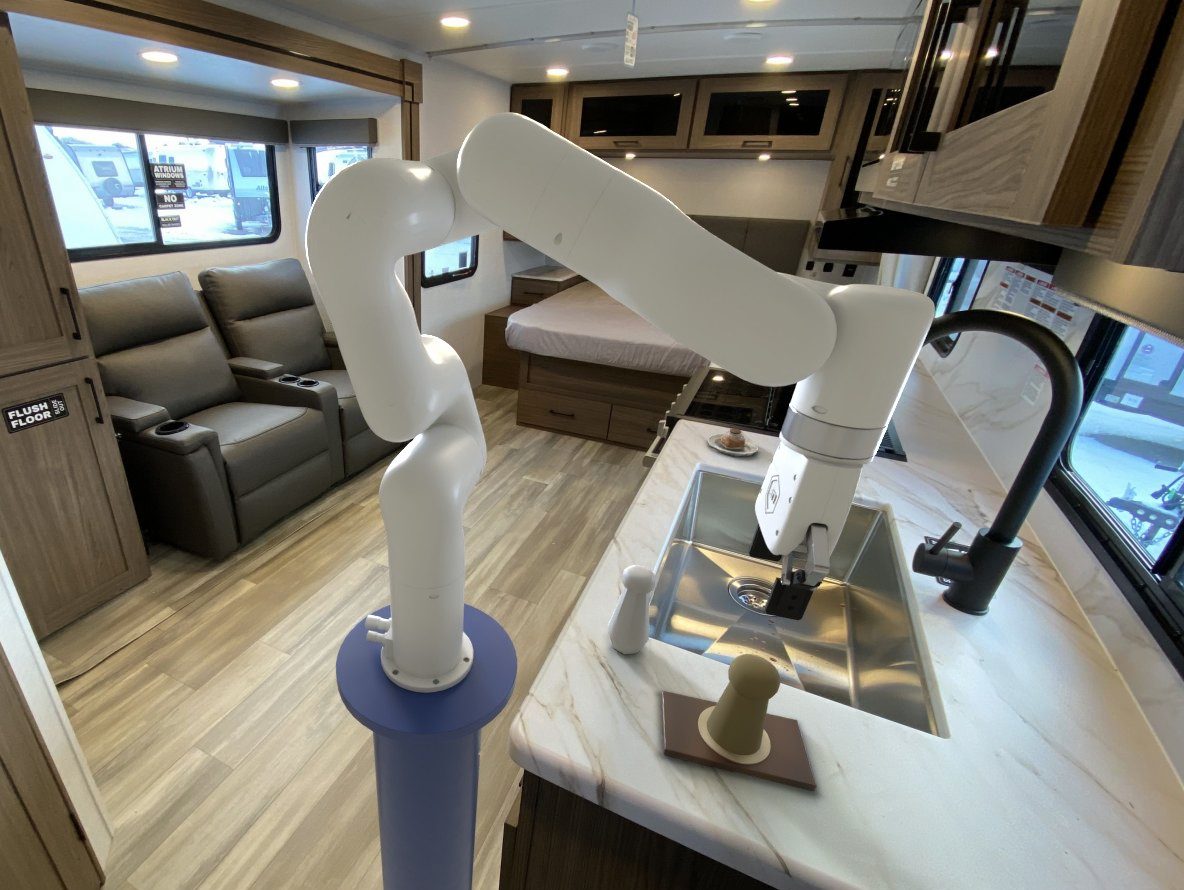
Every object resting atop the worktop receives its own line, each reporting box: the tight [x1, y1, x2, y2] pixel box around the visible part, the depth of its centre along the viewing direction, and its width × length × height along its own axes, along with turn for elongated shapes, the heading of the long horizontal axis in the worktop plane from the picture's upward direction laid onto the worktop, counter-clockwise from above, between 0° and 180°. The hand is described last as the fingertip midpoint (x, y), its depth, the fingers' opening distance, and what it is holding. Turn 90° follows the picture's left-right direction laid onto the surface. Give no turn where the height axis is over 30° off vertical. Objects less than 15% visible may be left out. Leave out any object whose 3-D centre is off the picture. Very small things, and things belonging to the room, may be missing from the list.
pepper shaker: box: [707, 653, 781, 755], centre depth 66 cm, size 6×6×11 cm
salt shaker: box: [606, 564, 657, 655], centre depth 79 cm, size 6×6×13 cm
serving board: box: [660, 690, 818, 792], centre depth 68 cm, size 16×9×1 cm, turn 75°
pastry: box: [707, 428, 759, 458], centre depth 144 cm, size 12×12×5 cm
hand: (772, 584), depth 59 cm, fingers open, 9 cm apart
